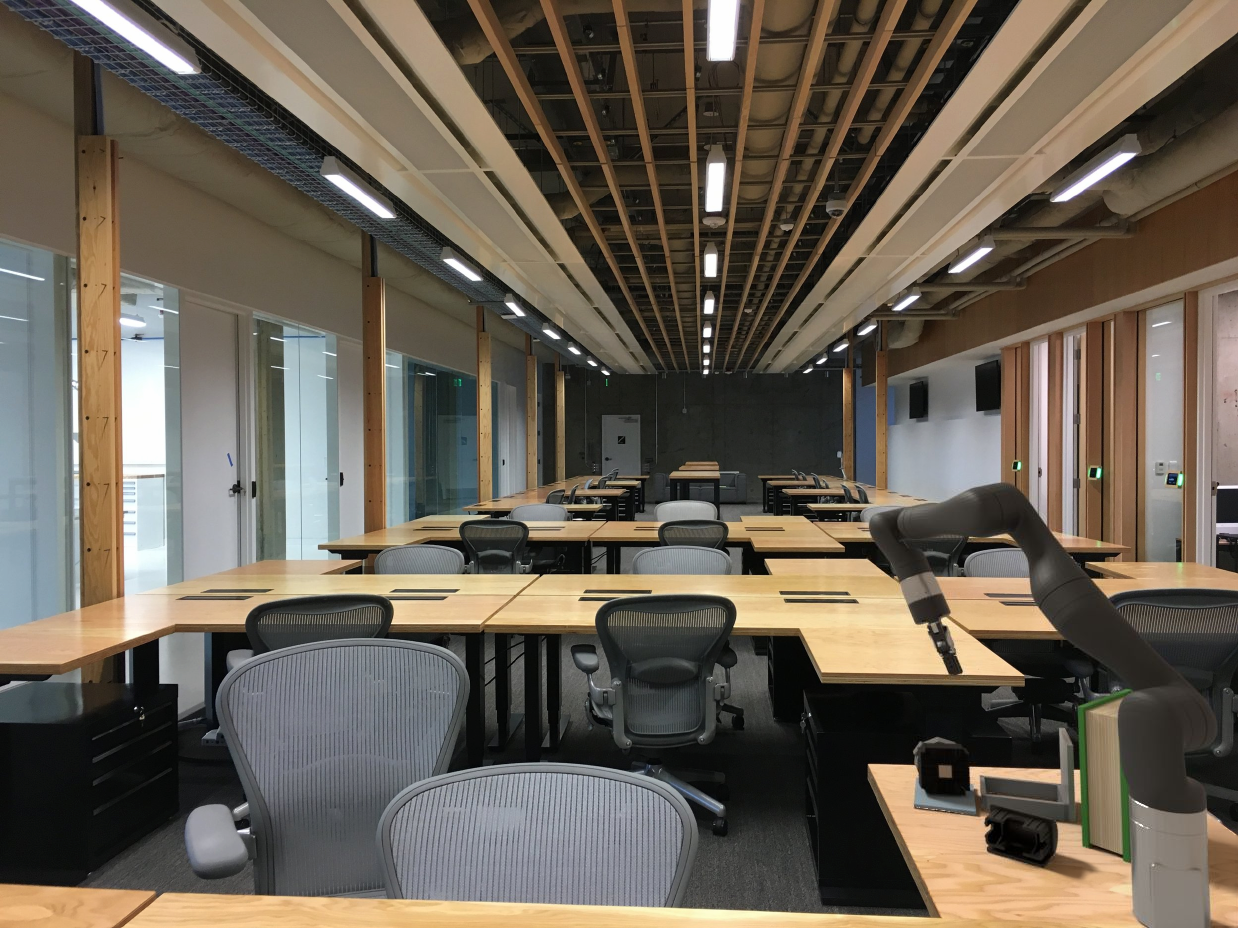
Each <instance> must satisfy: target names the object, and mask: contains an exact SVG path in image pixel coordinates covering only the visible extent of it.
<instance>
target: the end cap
mask: <svg viewBox="0 0 1238 928" xmlns="http://www.w3.org/2000/svg"><path fill="white" fill-rule="evenodd" d="M983 824H984V827H985V828H988V827H990V829H989V830H988V831H987V832H986V833H985V834H984V839H985V840H984V841H985V844H986V845H987V846H986V852H987V853H989V854H993V855H996V856H999V857H1002V858H1005V859H1010V860H1014V861H1015V862H1019V863H1022V864H1026V865H1030V866H1033V867H1036V868H1040V869H1043V868H1045V867H1046V866H1047V865H1048V864H1049V862H1050V861H1051V859H1052V857H1054V856H1055V854H1056V853H1057V849H1058V844H1059V843H1058V842H1059V828H1058V824H1057V820H1054V819H1052V818H1048V817H1044V816H1040V815H1036V814H1032V813H1028V812H1024V811H1020V810H1017V809H1013V808H1009V807H1005V806H1001V805H997V804H991V805H990V812H989V814H988V815H987V816H986V817H985V818H984V822H983Z"/></svg>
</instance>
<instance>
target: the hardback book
mask: <svg viewBox="0 0 1238 928" xmlns="http://www.w3.org/2000/svg"><path fill="white" fill-rule="evenodd" d="M1131 692H1133V691H1132V690H1131V689H1130V688H1126V689H1122V690H1120V691H1117V692H1114V693H1111V694H1108V695H1106V696H1103V697H1100V698H1097V699H1094V700H1091V701H1089V702H1086V703H1083V704H1081V705H1078V706H1077V717H1078V718H1077V721H1078V725H1077V726H1078V751H1079V752H1078V755H1079V781H1080V782H1079V784H1080V785H1079V786H1080V810H1081V840H1082V842H1081V843H1082V847H1084V848H1086V849H1089V848H1091V847H1093V846H1097V847H1099V848H1102V849H1105V850H1108V851H1111V852H1114V853H1117V854H1119V855H1122V861H1123V862H1125V863H1128V864H1131V846H1130V817H1129V814H1130V813H1129V787H1128V783H1127V781H1126V779H1125V777H1124V774H1123V771H1122V767H1121V758H1120V747H1119V736H1118V710H1119V706H1120V703H1121V701H1122V700H1123V698H1124V697H1125V696H1126V695H1127V694H1129V693H1131Z"/></svg>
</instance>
